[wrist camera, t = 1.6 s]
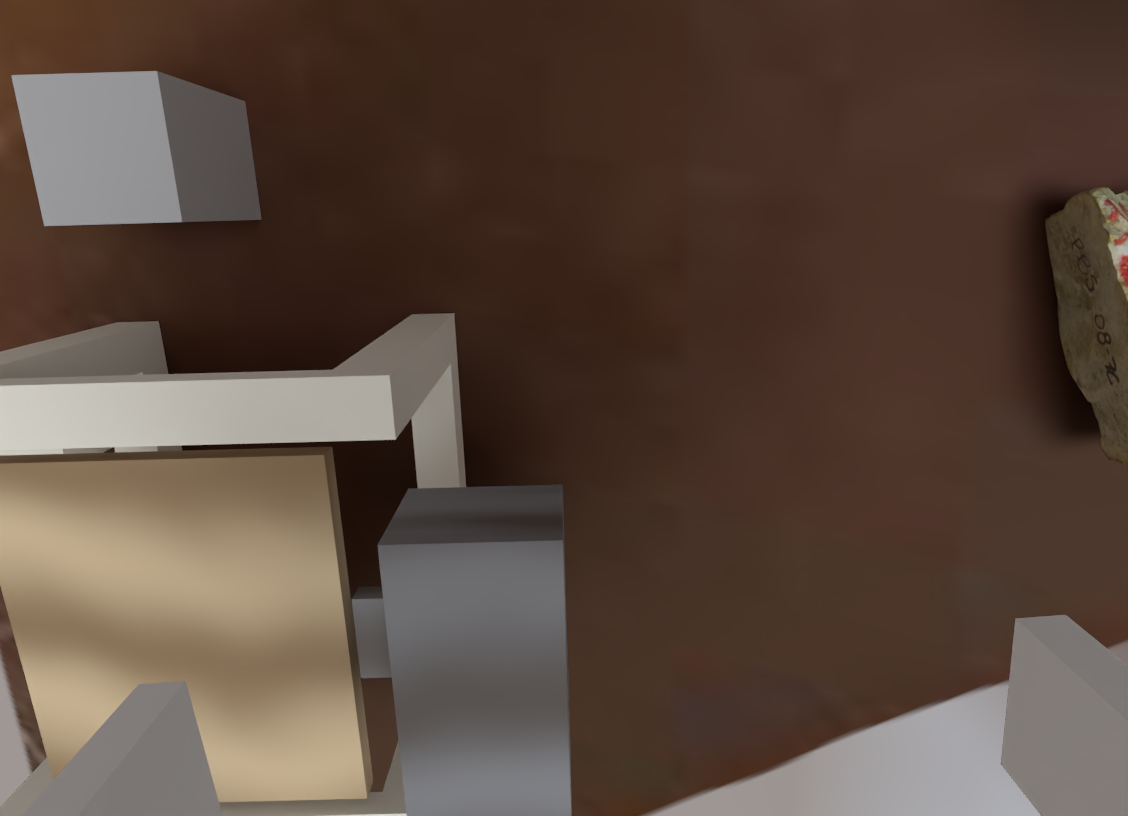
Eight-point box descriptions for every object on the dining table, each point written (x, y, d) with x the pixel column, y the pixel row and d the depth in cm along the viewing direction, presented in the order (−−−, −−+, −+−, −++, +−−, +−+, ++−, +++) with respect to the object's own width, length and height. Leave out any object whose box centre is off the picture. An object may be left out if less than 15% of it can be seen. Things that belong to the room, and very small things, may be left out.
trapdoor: (-13, 455, 22) (-131, 506, 19) (561, 440, 22) (561, 488, 19) (75, 788, 26) (-10, 889, 22) (571, 776, 26) (572, 875, 22)
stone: (131, 104, 31) (11, 75, 24) (245, 101, 31) (156, 71, 24) (152, 222, 32) (44, 225, 25) (261, 219, 32) (182, 222, 25)
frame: (116, 322, 33) (-151, 390, 21) (454, 313, 33) (389, 375, 21) (182, 652, 38) (-2, 867, 26) (477, 645, 38) (436, 857, 26)
